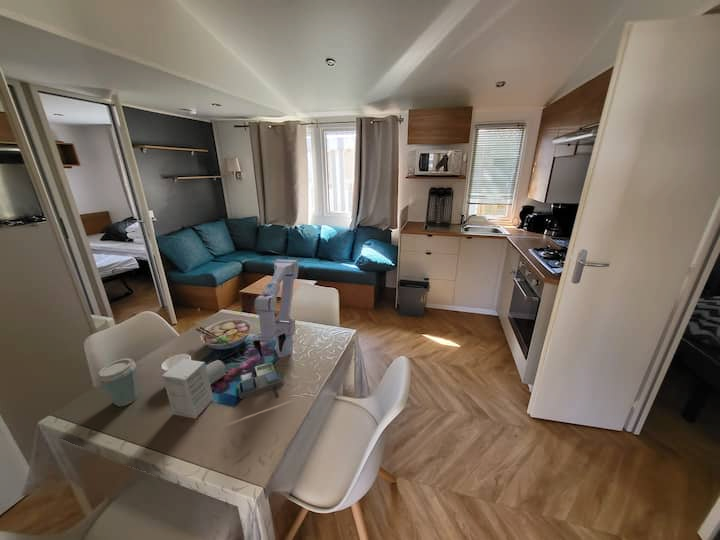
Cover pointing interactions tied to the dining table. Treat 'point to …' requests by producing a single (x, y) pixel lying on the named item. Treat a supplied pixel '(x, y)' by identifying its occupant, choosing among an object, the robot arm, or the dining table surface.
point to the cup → (173, 362)
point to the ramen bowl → (226, 333)
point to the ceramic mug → (215, 370)
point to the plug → (247, 382)
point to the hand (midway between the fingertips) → (271, 353)
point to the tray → (264, 369)
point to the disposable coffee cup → (120, 381)
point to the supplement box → (188, 388)
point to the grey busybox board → (263, 384)
